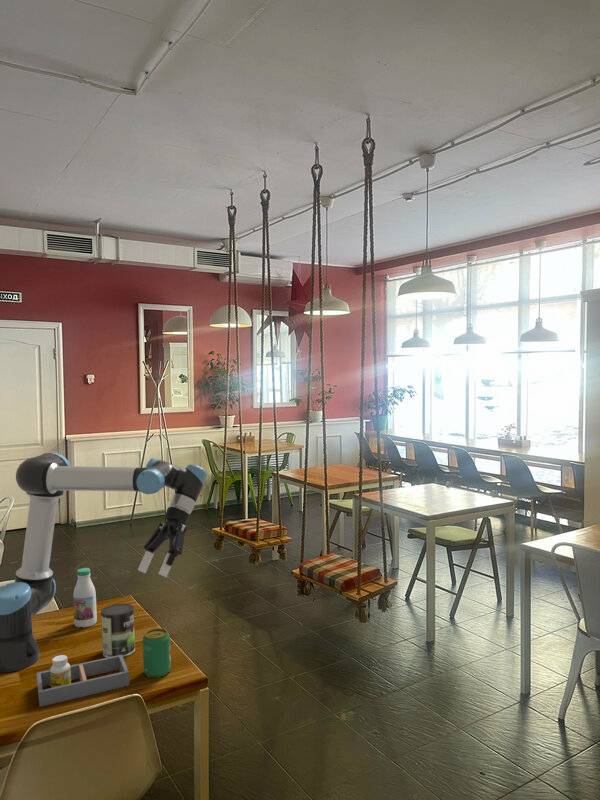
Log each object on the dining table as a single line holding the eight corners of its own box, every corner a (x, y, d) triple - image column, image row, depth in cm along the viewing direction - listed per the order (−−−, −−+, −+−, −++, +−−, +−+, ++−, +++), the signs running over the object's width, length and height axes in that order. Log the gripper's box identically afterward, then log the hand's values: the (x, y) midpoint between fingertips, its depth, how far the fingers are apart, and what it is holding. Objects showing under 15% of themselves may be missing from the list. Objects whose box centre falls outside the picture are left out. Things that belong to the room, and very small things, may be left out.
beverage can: (174, 674, 183) (172, 635, 182) (147, 681, 179) (146, 641, 179) (166, 663, 190) (165, 625, 189) (141, 669, 186) (139, 631, 186)
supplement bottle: (75, 688, 176) (74, 655, 176) (61, 697, 171) (60, 663, 171) (60, 685, 178) (59, 652, 178) (46, 694, 173) (45, 660, 173)
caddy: (37, 686, 178) (36, 672, 177) (122, 667, 188) (121, 654, 188) (39, 706, 166) (39, 692, 166) (129, 685, 177) (129, 672, 177)
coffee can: (140, 645, 203) (139, 603, 202) (126, 659, 193) (124, 616, 192) (112, 643, 205) (110, 602, 205) (96, 657, 195) (94, 614, 194)
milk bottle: (80, 619, 226) (78, 565, 226) (100, 619, 225) (98, 566, 225) (70, 627, 219) (68, 572, 218) (90, 628, 218) (88, 573, 217)
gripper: (209, 516, 191) (181, 581, 182) (169, 515, 210) (142, 574, 201) (190, 505, 188) (161, 572, 178) (151, 505, 206) (123, 565, 197)
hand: (151, 573), depth 190 cm, fingers open, 13 cm apart
